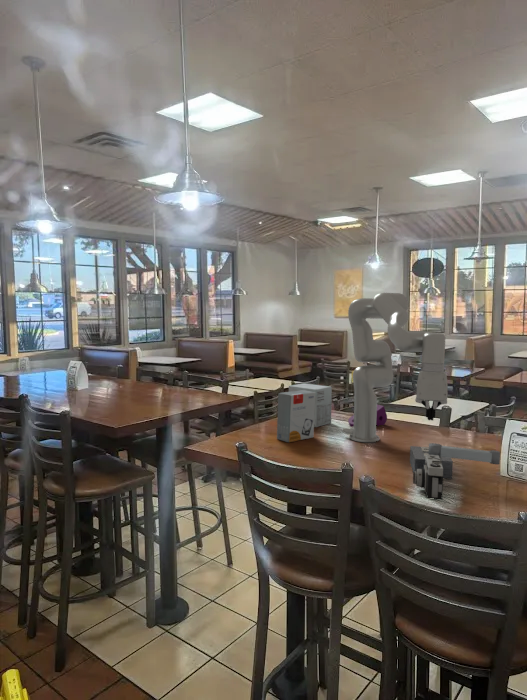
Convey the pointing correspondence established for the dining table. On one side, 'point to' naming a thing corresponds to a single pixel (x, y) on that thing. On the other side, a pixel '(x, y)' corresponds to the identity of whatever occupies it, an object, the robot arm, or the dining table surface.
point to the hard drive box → (295, 415)
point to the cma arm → (465, 453)
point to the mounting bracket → (380, 418)
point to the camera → (430, 477)
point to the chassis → (419, 460)
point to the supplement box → (318, 401)
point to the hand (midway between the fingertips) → (430, 419)
